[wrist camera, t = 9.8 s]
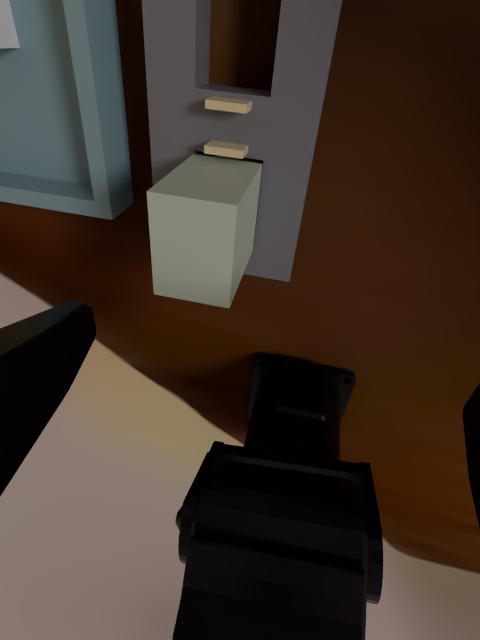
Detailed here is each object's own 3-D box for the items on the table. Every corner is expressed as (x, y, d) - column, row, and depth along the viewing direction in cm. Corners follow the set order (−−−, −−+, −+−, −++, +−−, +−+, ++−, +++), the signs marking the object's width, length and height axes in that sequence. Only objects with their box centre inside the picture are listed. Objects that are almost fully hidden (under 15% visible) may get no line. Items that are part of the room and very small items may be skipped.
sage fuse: (260, 231, 20) (229, 308, 14) (205, 222, 20) (153, 294, 15) (270, 151, 18) (237, 205, 12) (207, 142, 18) (146, 191, 12)
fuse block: (292, 263, 21) (287, 292, 18) (170, 242, 21) (149, 267, 19) (441, -527, 8) (482, -747, 6) (144, -509, 9) (78, -694, 7)
